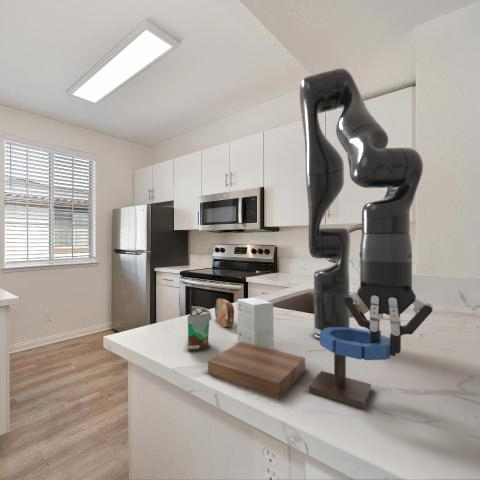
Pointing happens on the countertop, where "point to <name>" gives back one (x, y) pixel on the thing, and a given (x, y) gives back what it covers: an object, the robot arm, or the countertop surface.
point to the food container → (198, 328)
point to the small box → (255, 322)
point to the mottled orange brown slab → (224, 312)
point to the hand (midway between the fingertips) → (385, 352)
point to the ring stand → (340, 385)
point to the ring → (351, 349)
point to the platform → (258, 368)
